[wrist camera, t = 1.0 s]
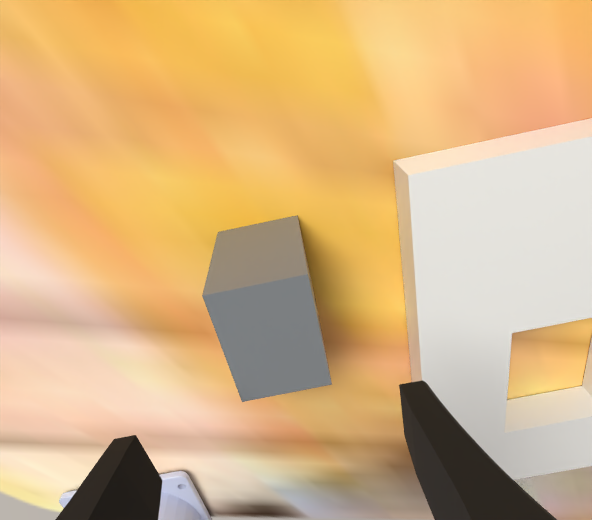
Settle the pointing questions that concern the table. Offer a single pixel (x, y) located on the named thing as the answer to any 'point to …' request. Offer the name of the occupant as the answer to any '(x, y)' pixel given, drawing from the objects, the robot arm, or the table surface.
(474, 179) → the base plate
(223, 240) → the block
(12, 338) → the table surface
